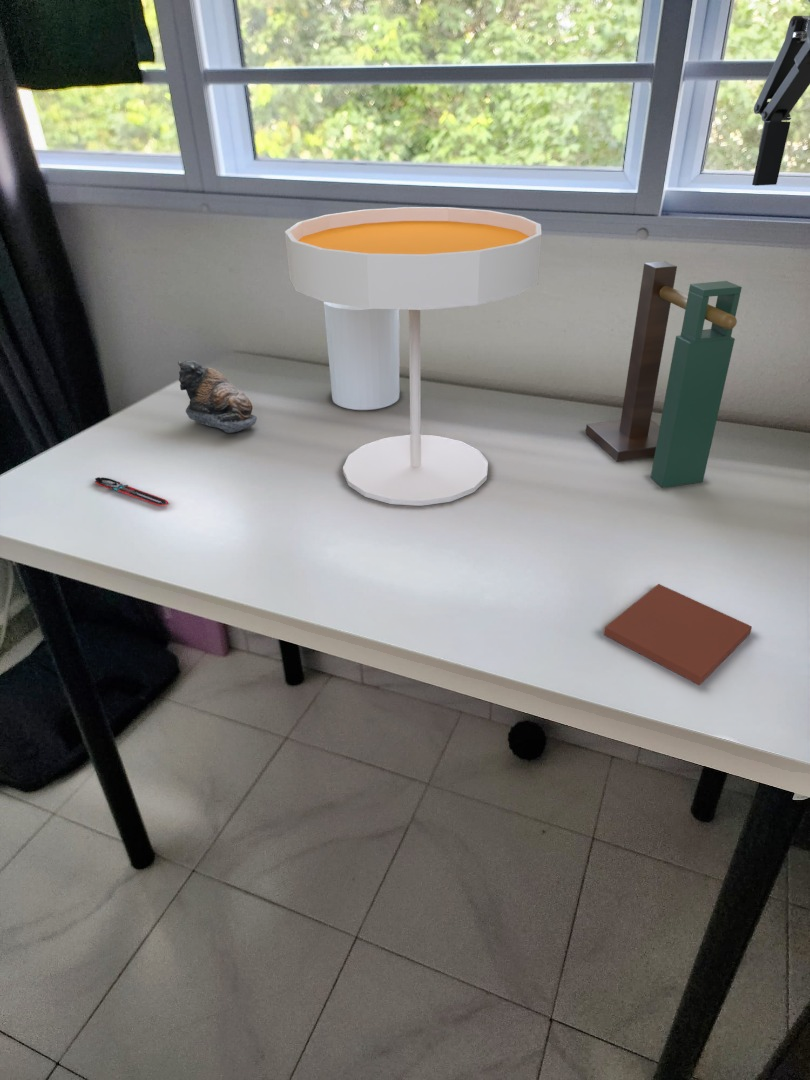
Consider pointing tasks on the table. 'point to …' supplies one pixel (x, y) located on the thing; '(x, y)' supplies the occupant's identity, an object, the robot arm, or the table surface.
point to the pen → (130, 491)
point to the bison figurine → (214, 398)
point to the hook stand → (647, 366)
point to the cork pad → (678, 633)
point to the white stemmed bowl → (414, 315)
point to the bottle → (363, 355)
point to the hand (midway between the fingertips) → (800, 193)
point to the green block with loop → (694, 388)
